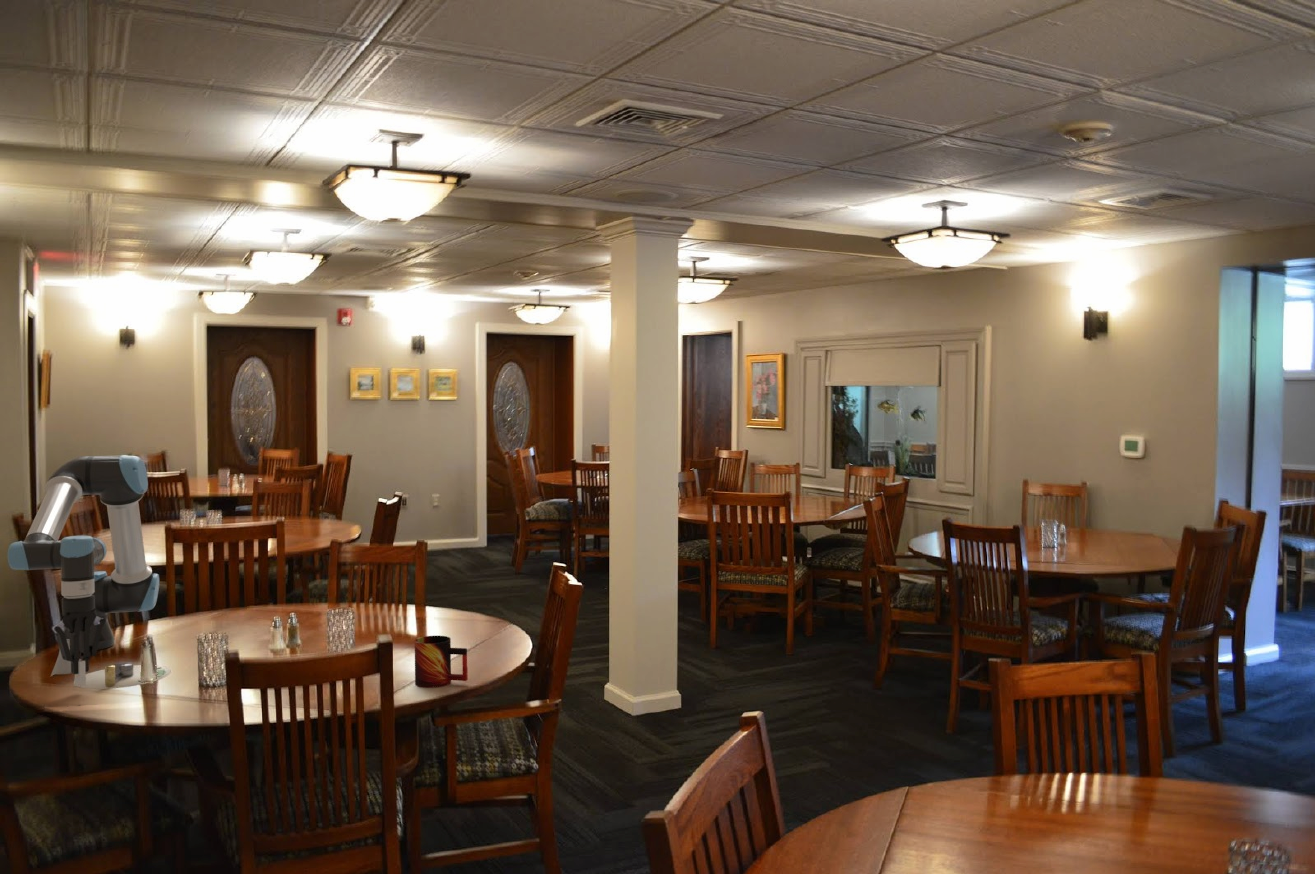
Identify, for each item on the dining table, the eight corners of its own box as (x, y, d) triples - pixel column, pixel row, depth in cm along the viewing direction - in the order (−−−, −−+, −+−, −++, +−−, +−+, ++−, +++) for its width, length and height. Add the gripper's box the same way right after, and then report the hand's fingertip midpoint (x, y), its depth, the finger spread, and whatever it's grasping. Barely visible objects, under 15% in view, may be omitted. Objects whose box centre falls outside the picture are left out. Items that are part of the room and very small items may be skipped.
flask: (67, 679, 280) (66, 644, 279) (45, 678, 281) (44, 642, 281) (86, 672, 287) (86, 638, 286) (65, 671, 288) (64, 637, 288)
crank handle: (116, 673, 280) (116, 654, 280) (136, 672, 281) (135, 654, 281) (98, 686, 267) (98, 667, 267) (118, 685, 268) (118, 666, 267)
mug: (467, 685, 273) (467, 641, 272) (415, 689, 269) (415, 644, 269) (465, 675, 282) (464, 633, 282) (414, 679, 278) (414, 636, 278)
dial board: (93, 671, 288) (93, 666, 288) (182, 667, 292) (182, 662, 292) (58, 695, 264) (58, 690, 264) (155, 690, 268) (155, 685, 268)
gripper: (58, 601, 254) (60, 693, 254) (111, 593, 264) (112, 681, 265) (44, 598, 258) (46, 688, 259) (96, 590, 269) (98, 677, 269)
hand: (80, 685), depth 262 cm, fingers closed
